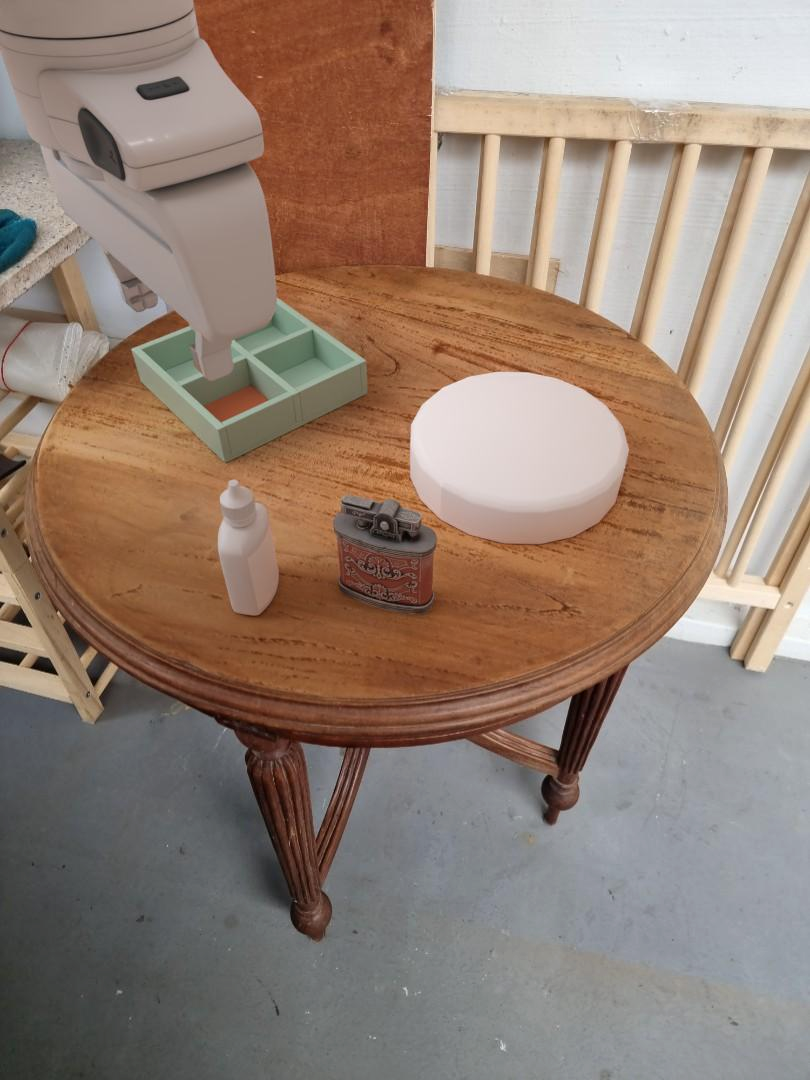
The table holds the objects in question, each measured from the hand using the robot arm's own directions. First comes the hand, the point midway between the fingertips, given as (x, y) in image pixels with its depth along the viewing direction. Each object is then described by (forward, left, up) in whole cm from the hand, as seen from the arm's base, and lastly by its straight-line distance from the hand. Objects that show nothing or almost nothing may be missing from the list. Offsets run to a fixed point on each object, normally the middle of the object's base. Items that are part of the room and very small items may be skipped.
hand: (176, 337), depth 47 cm
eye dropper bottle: (+1, -2, -24) cm, 24 cm away
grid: (+16, +22, -23) cm, 36 cm away
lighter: (+9, -9, -24) cm, 27 cm away
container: (+28, -5, -24) cm, 37 cm away
